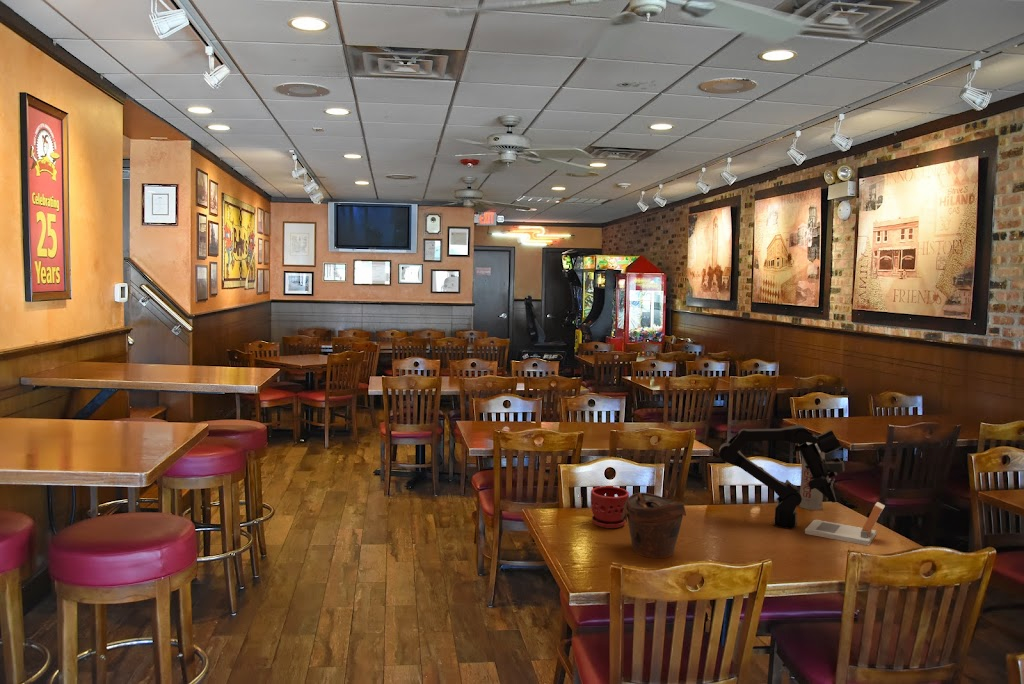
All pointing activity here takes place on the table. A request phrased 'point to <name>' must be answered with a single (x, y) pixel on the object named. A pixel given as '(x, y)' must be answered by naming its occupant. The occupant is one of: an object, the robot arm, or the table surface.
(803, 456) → the robot arm
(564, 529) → the table surface
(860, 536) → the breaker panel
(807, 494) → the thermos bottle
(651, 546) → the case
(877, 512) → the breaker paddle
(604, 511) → the plant pot
